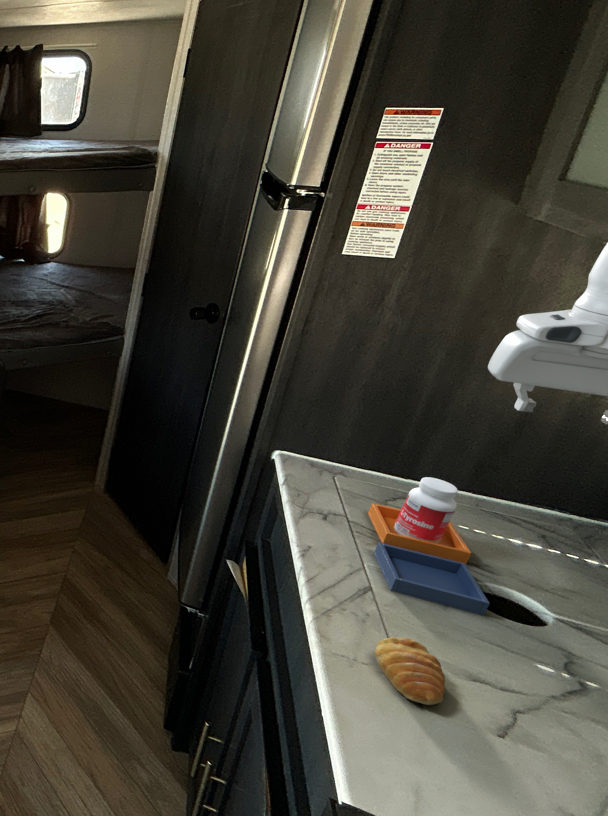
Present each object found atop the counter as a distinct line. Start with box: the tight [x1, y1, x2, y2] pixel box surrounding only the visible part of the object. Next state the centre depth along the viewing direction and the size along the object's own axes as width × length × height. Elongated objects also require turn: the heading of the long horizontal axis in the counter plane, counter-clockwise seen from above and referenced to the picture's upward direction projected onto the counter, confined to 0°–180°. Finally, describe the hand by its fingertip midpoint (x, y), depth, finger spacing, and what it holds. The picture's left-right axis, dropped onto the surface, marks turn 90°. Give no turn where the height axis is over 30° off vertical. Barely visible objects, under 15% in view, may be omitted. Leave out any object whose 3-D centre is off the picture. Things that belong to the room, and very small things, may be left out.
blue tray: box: [373, 542, 491, 616], centre depth 103 cm, size 11×10×2 cm
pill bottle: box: [394, 476, 459, 544], centre depth 111 cm, size 6×6×11 cm
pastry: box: [374, 636, 446, 706], centre depth 85 cm, size 9×7×4 cm
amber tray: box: [367, 502, 472, 565], centre depth 113 cm, size 11×10×2 cm
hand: (565, 417), depth 95 cm, fingers open, 8 cm apart
